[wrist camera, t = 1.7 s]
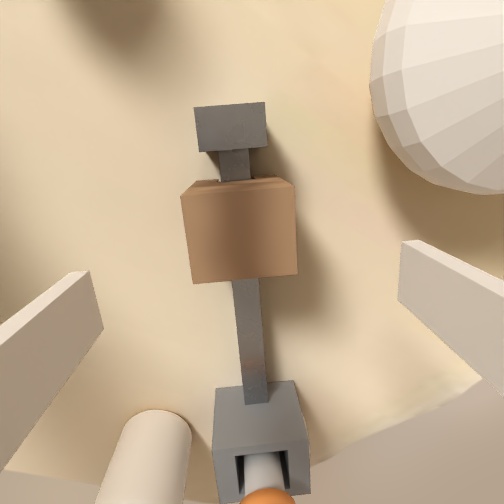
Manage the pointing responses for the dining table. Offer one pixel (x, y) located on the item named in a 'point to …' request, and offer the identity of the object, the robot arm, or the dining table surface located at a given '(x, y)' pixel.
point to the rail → (233, 169)
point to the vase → (442, 90)
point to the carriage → (240, 229)
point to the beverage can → (149, 461)
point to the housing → (259, 438)
